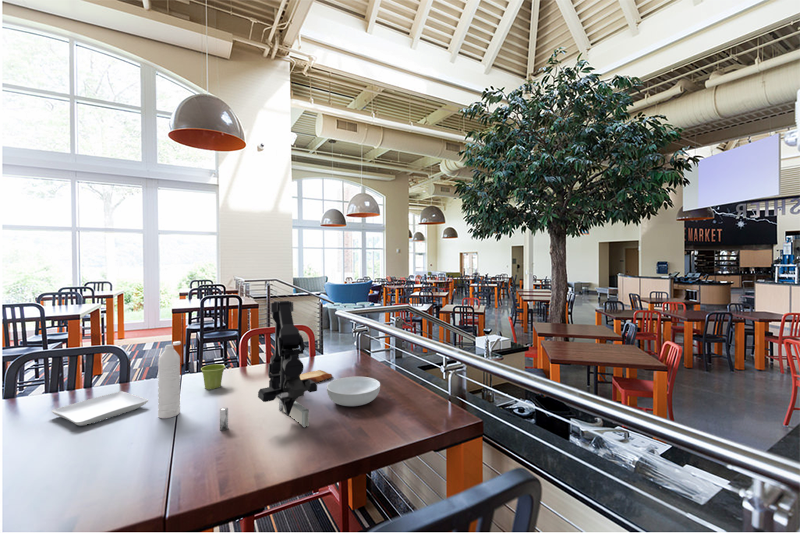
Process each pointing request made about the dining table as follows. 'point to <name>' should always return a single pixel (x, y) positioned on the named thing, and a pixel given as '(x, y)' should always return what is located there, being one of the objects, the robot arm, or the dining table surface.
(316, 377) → the bread slice
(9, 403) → the dining table surface
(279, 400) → the hinge post
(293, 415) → the bar
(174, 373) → the water bottle
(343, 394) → the serving bowl
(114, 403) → the salad plate
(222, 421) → the post
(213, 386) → the plant pot
